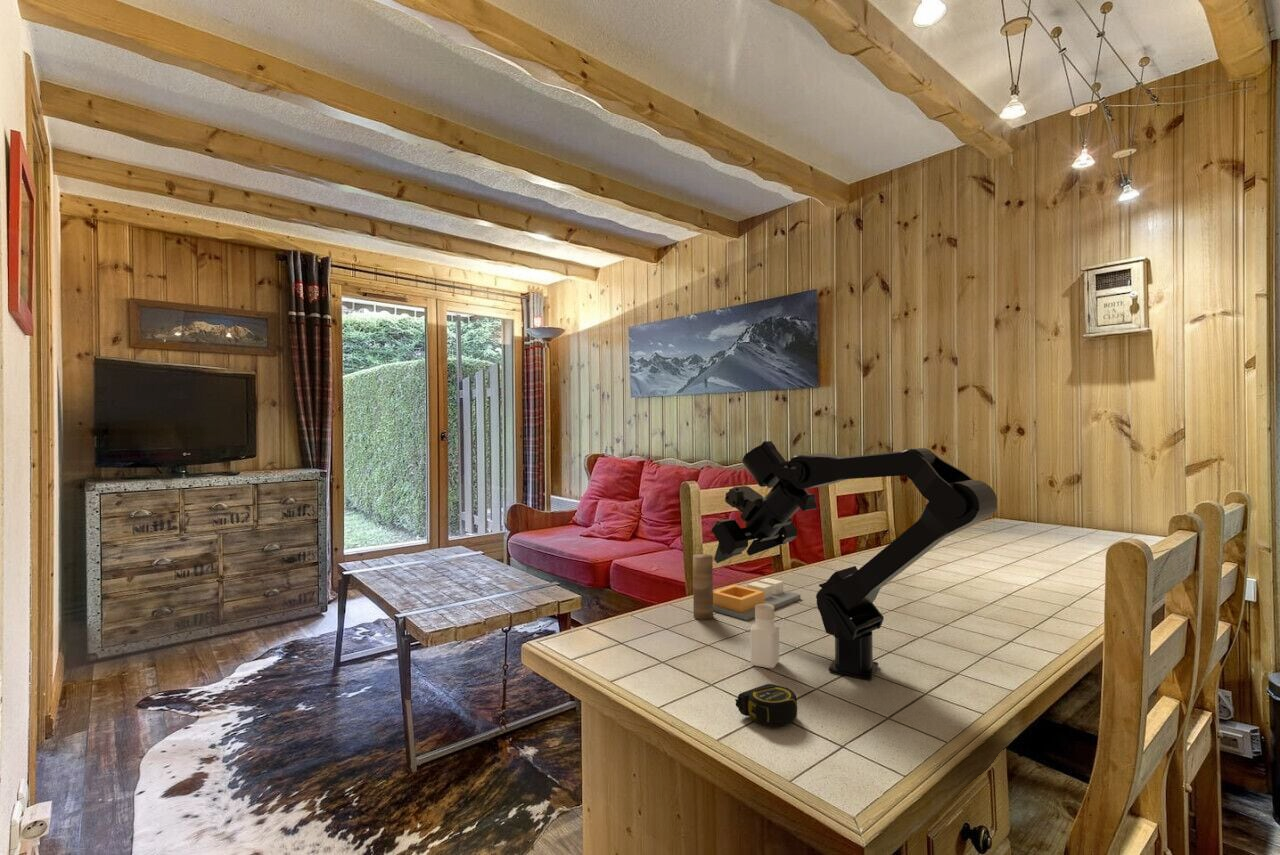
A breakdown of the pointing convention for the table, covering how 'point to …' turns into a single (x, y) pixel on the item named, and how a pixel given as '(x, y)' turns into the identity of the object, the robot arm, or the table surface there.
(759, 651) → the pepper shaker
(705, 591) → the peg
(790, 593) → the multicoloured piece
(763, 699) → the tape measure
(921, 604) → the table surface
